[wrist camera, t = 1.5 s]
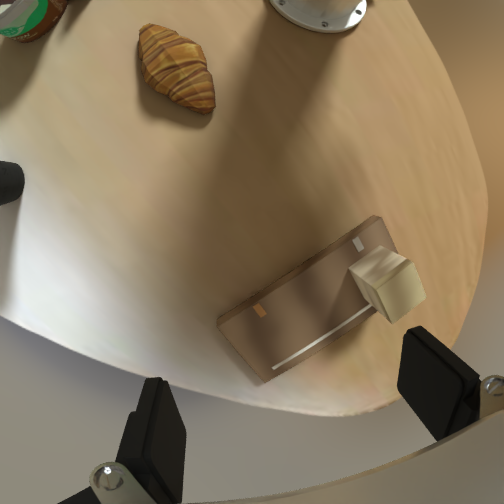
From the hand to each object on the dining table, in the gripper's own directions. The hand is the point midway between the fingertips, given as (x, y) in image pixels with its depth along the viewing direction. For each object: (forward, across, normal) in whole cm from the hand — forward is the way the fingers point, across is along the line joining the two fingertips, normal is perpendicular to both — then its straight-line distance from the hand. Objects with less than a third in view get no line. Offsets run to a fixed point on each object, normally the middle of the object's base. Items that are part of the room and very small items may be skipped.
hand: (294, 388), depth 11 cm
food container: (+24, +24, -34) cm, 47 cm away
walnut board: (+24, -8, +8) cm, 26 cm away
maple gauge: (+22, -14, +5) cm, 26 cm away
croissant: (+24, +5, -21) cm, 32 cm away
